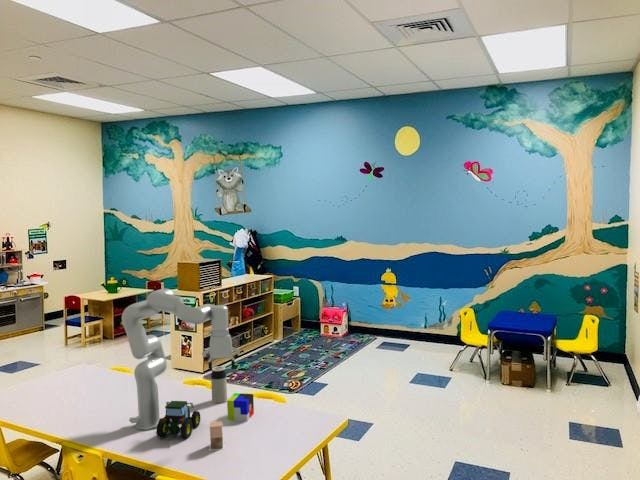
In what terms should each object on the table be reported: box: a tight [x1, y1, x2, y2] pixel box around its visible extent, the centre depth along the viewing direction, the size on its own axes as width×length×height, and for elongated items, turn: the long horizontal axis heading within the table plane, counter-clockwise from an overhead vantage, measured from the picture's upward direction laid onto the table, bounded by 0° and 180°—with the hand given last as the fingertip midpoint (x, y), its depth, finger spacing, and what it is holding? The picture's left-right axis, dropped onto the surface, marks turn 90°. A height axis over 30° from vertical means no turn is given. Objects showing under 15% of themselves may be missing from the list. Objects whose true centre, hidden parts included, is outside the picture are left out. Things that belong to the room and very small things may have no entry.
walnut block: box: [209, 434, 224, 451], centre depth 229 cm, size 5×5×5 cm
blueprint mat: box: [208, 441, 226, 452], centre depth 229 cm, size 14×12×1 cm
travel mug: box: [210, 365, 228, 404], centre depth 283 cm, size 8×8×18 cm
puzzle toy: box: [226, 392, 255, 422], centre depth 262 cm, size 10×10×10 cm
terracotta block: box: [209, 421, 223, 439], centre depth 228 cm, size 5×5×5 cm
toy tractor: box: [156, 400, 201, 440], centre depth 245 cm, size 14×22×15 cm, turn 171°
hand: (221, 369), depth 241 cm, fingers open, 9 cm apart
